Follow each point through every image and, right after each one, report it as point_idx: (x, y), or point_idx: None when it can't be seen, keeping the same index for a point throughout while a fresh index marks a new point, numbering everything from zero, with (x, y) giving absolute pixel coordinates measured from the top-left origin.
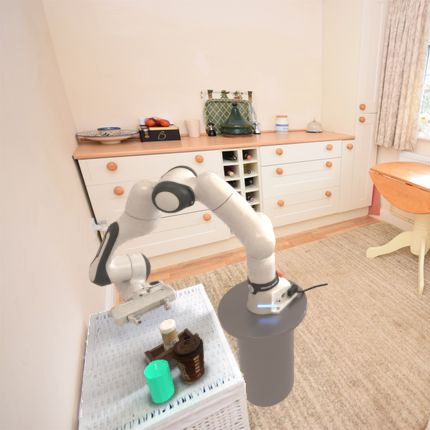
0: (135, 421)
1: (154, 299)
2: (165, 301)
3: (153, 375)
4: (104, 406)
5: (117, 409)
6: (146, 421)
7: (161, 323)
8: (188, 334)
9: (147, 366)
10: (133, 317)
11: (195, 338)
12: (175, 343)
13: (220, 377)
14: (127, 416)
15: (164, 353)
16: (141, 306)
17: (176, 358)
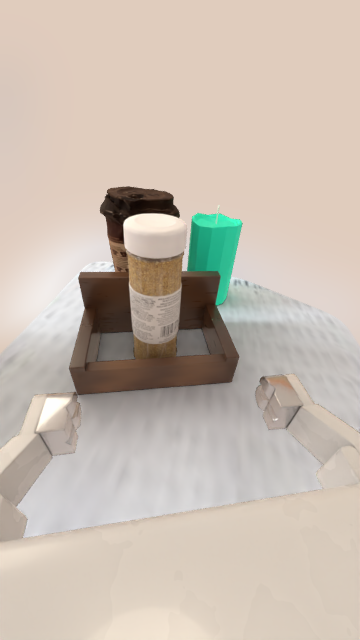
0: (252, 285)
1: (81, 591)
2: (4, 497)
3: (223, 220)
4: (315, 326)
5: (286, 311)
6: (236, 278)
7: (172, 228)
8: (88, 338)
9: (234, 226)
10: (327, 425)
11: (115, 192)
12: (162, 199)
13: (110, 271)
14: (266, 295)
15: (187, 273)
16: (277, 521)
17: (174, 205)
